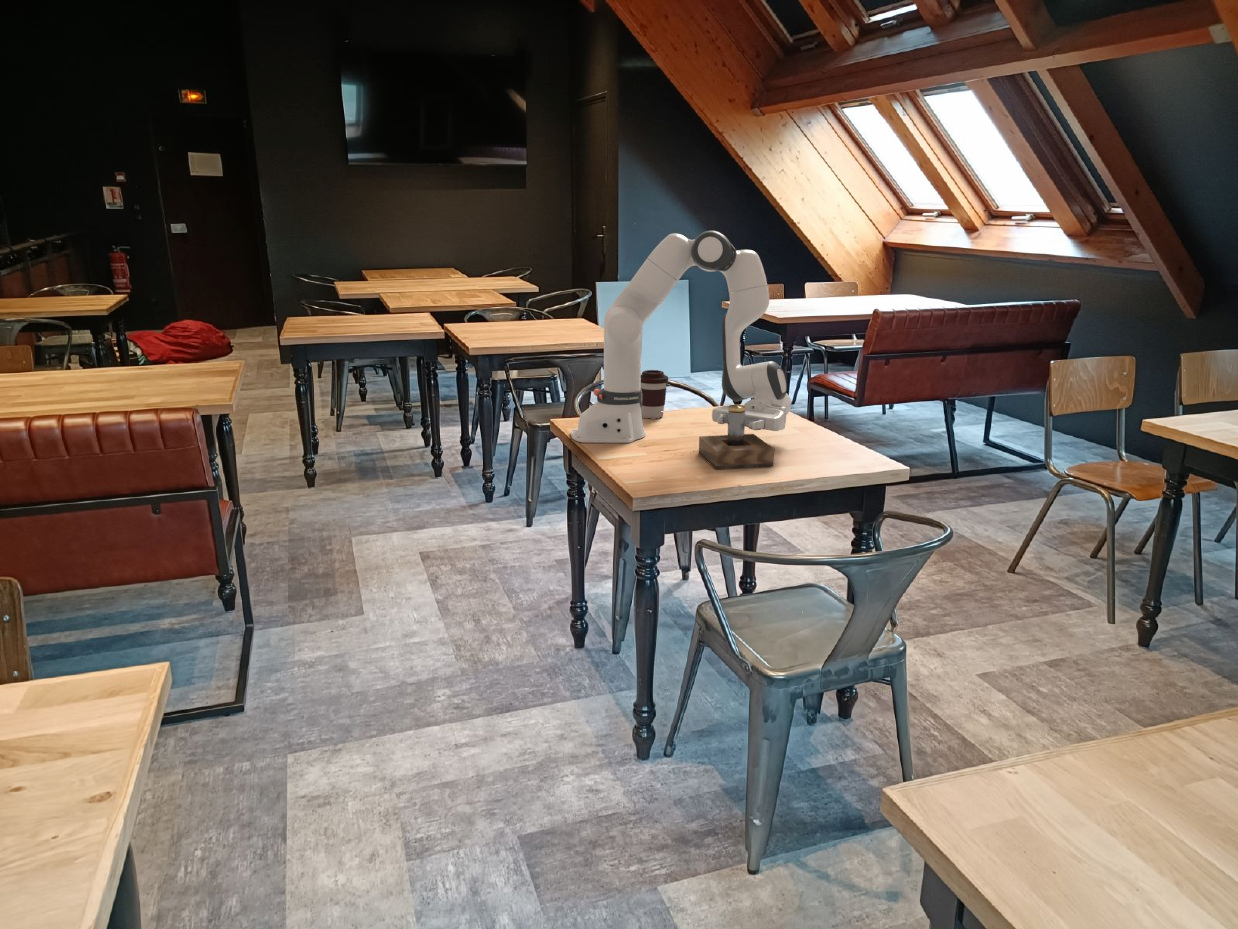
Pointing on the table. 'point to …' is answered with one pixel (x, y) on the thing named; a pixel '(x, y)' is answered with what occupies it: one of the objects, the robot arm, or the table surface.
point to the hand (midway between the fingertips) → (735, 423)
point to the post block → (736, 452)
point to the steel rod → (736, 425)
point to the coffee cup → (653, 393)
